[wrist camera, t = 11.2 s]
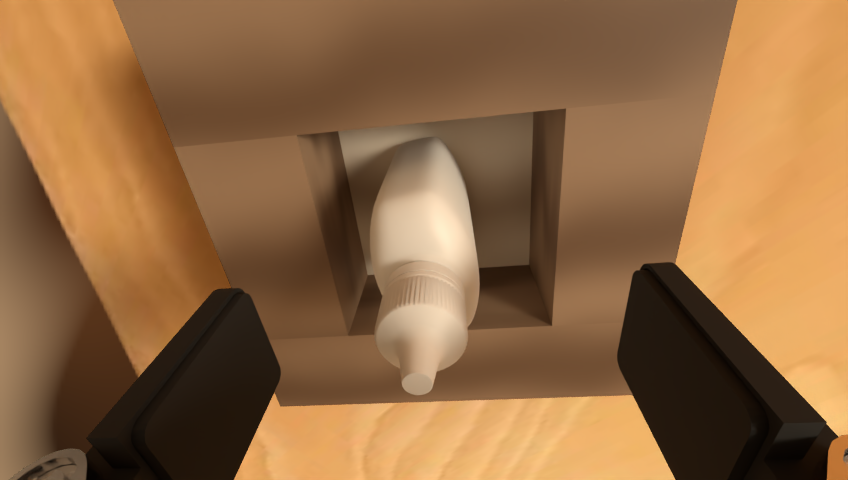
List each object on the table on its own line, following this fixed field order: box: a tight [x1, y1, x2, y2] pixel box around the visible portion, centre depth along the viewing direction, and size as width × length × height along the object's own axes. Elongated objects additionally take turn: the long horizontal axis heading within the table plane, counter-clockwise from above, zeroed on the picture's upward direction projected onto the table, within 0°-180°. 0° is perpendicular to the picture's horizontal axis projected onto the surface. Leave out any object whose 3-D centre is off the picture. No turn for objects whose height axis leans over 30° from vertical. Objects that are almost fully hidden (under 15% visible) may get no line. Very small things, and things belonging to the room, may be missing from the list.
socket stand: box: [113, 0, 737, 406], centre depth 17 cm, size 18×18×6 cm
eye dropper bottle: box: [370, 137, 480, 395], centre depth 14 cm, size 4×6×12 cm
